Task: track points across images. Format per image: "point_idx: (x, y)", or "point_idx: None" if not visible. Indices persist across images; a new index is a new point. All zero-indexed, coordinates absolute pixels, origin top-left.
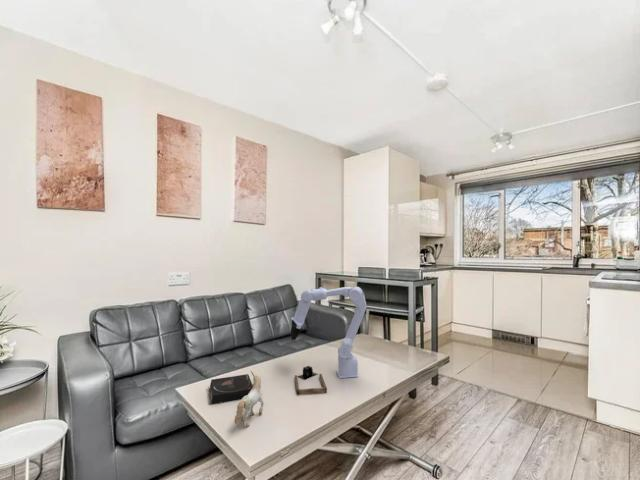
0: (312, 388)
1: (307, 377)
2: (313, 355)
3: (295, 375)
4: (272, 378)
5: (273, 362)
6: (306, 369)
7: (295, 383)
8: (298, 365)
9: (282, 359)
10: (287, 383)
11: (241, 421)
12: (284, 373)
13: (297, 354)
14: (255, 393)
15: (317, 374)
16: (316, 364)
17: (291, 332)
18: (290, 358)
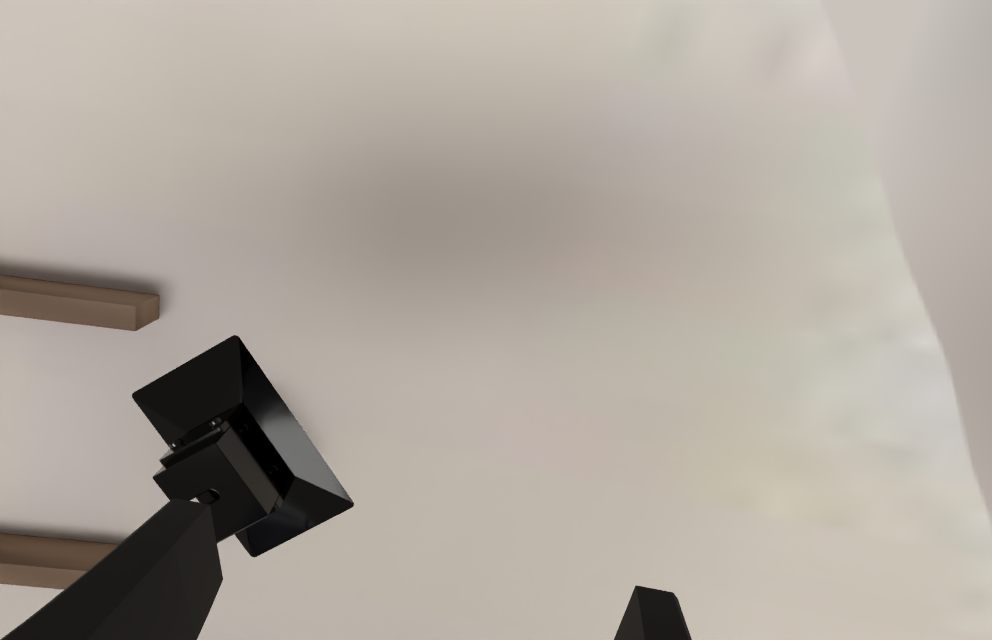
0: None
1: (178, 437)
2: (812, 628)
3: (129, 312)
4: (244, 32)
5: (779, 126)
6: (163, 469)
7: (30, 280)
8: (566, 412)
9: (837, 260)
10: (64, 193)
11: None
12: (367, 208)
13: (927, 469)
14: None
15: (248, 550)
16: (531, 600)
17: (634, 619)
18: (829, 364)
